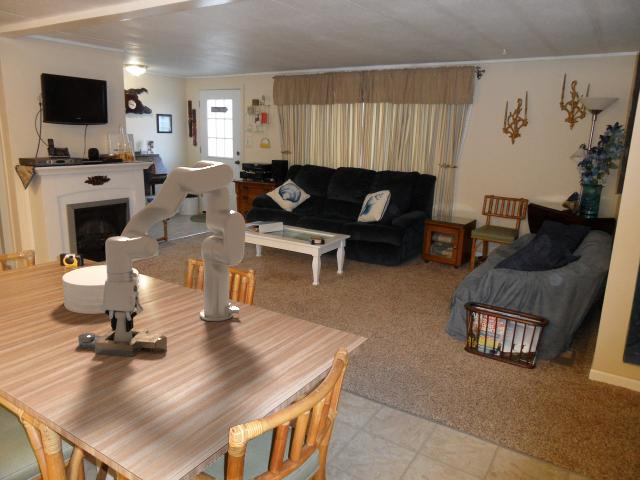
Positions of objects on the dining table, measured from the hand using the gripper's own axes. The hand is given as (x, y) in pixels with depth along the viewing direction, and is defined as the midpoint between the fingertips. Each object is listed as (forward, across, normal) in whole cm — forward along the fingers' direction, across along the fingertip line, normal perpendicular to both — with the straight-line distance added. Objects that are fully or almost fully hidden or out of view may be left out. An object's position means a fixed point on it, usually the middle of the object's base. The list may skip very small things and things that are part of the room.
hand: (122, 329), depth 153 cm
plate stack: (+7, +27, -39) cm, 48 cm away
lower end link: (+6, +4, 0) cm, 8 cm away
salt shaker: (+7, 0, 0) cm, 7 cm away
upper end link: (+6, -4, 0) cm, 7 cm away
